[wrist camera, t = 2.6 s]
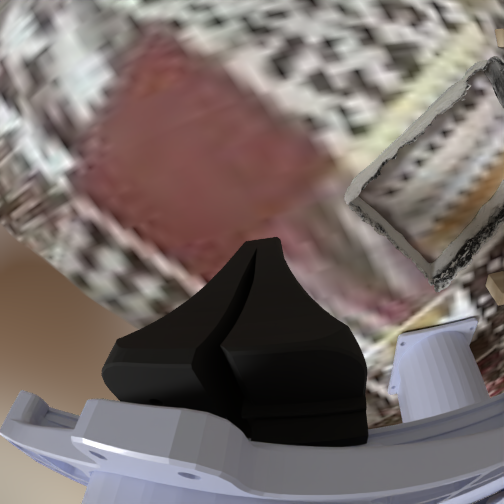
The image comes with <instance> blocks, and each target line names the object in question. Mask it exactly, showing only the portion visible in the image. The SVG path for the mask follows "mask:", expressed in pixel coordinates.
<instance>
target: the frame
mask: <svg viewBox="0 0 504 504" xmlns="http://www.w3.org/2000/svg"><path fill="white" fill-rule="evenodd" d="M495 33H496V38H497V43H498V47H501V48H504V29H495ZM486 287H487V289H488V290H489V292H490V293H491V295H492V297H493V298H494V300H495V301H496V303H497V304H498V306H499V305H503V304H504V271H500V272H496V273H492V274H488V278H487V282H486Z"/></svg>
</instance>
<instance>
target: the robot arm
mask: <svg viewBox="0 0 504 504" xmlns="http://www.w3.org/2000/svg"><path fill="white" fill-rule="evenodd" d="M477 324H478V321H477V319H476V318H471V319H467V320H463V321H459V322H454V323H450V324H446V325H441V326H437V327H432V328H427V329H422V330H417V331H412V332H407V333H402V334H400V335H399V336H398V339H397V345H396V351H395V357H394V362H393V367H392V372H391V377H390V382H389V387H388V394H390V395H391V394H398V399H399V405H400V410H401V415H402V421H403V423H402V424H397V425H392V426H387V427H381V428H376V429H369V430H368V425H367V416H366V408H367V407H366V397H365V390H366V381H367V366H366V362H365V359H364V356H363V353H362V351H361V349H360V346H359V344H358V343H357V341H356V339H355V337H354V335H353V334H352V332H351V330H350V328H349V327H348V326H347V325H345V324H344V323H342V322H340V321H339V320H337V319H336V318H334V317H333V316H332V315H330V314H329V313H328V312H327V311H325V310H324V309H323V308H322V307H321V306H320V305H319V304H318V303H316V302H315V301H314V300H313V299H312V298H311V297H310V296H309V295H308V293H307V292H306V291H305V290H304V289H303V288H302V286H301V285H300V284H299V282H298V281H297V280H296V278H295V277H294V275H293V274H292V272H291V270H290V269H289V267H288V265H287V263H286V261H285V259H284V255H283V250H282V245H281V240H280V239H279V238H278V237H273V238H266V239H259V240H252V241H246V242H245V243H244V244H243V245H242V246H241V247H240V248H239V250H238V251H237V252H236V253H235V254H234V256H233V257H232V258H231V259H230V260H229V261H228V262H227V264H226V265H225V266H224V267H223V268H222V269H221V270H220V271H219V272H218V273H217V274H216V275H215V276H214V277H213V278H212V279H211V280H210V281H209V282H208V283H207V284H206V285H205V286H204V287H203V288H202V289H201V290H200V291H199V292H197V293H196V294H195V295H194V296H192V297H191V298H190V299H189V300H187V301H186V302H185V303H183V304H182V305H180V306H179V307H177V308H176V309H175V310H173V311H172V312H170V313H169V314H167V315H165V316H164V317H162V318H160V319H159V320H157V321H155V322H153V323H151V324H150V325H148V326H146V327H144V328H142V329H140V330H137V331H135V332H133V333H131V334H129V335H127V336H124V337H122V338H119V339H117V341H116V343H115V345H114V347H113V348H112V350H111V352H110V354H109V356H108V358H107V360H106V362H105V364H104V366H103V368H102V377H103V380H104V382H105V384H106V385H107V387H108V388H109V389H110V391H111V392H112V393H113V394H114V395H115V396H116V397H117V398H118V399H119V400H120V401H115V400H108V399H89V400H87V402H86V404H85V406H84V408H83V411H82V413H81V415H80V416H79V415H75V414H71V413H68V412H64V411H61V410H57V409H54V408H51V407H49V406H48V404H47V403H46V402H45V401H44V400H43V399H41V398H40V397H39V396H37V395H36V394H33V393H30V392H27V391H24V390H21V391H20V393H19V394H18V397H17V398H16V400H15V402H14V404H13V405H12V407H11V409H10V411H9V413H8V415H7V417H6V419H5V421H4V423H3V425H2V426H1V429H0V435H1V436H3V437H4V438H5V439H6V440H8V441H9V442H10V443H12V444H13V445H14V446H16V447H17V448H18V449H19V450H21V451H22V452H24V453H25V454H26V455H28V456H29V457H31V458H32V459H34V460H35V461H36V462H38V463H40V464H42V465H44V466H46V467H48V468H50V469H51V470H53V471H56V472H57V473H60V474H61V475H63V476H65V477H68V478H70V479H72V480H74V481H76V482H78V483H80V484H83V485H85V486H87V489H86V492H85V495H84V498H83V501H82V504H472V503H473V504H504V393H502V394H500V395H497V396H495V397H492V398H490V397H489V394H488V391H487V389H486V386H485V383H484V381H483V378H482V376H481V373H480V371H479V368H478V366H477V363H476V361H475V358H474V356H473V354H472V351H471V349H470V347H469V345H470V343H471V340H472V337H473V335H474V332H475V329H476V327H477ZM498 491H499V492H498ZM496 492H497V493H496ZM494 493H495V494H494ZM492 494H493V495H492ZM489 495H491V496H489ZM487 496H489V497H487ZM485 497H486V498H485ZM483 498H484V499H483ZM481 499H482V500H481ZM479 500H480V501H479ZM476 501H478V502H476ZM474 502H475V503H474Z"/></svg>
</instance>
